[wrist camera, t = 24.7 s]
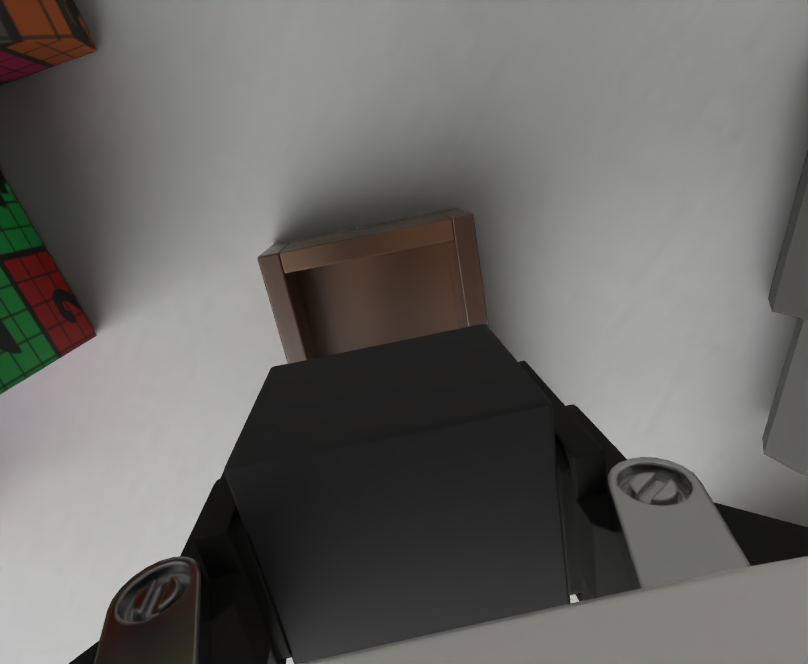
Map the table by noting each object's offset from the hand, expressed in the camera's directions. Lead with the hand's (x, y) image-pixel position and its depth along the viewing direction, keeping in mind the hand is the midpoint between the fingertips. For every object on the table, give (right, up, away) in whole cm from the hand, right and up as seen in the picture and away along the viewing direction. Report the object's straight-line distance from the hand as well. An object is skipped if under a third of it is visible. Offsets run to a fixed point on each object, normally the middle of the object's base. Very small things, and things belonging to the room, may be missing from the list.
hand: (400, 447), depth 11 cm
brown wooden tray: (0, 0, +11) cm, 11 cm away
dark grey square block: (0, 0, 0) cm, 0 cm away
